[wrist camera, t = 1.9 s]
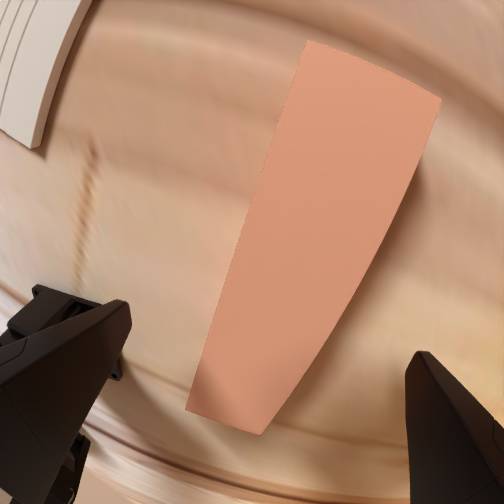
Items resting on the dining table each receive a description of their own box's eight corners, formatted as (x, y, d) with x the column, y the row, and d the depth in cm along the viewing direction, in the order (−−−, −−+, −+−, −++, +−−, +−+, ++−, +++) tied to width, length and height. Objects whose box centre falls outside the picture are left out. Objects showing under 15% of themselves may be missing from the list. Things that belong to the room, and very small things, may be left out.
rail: (271, 380, 18) (260, 435, 14) (206, 357, 18) (185, 409, 14) (403, 101, 10) (442, 99, 7) (308, 62, 10) (307, 39, 7)
